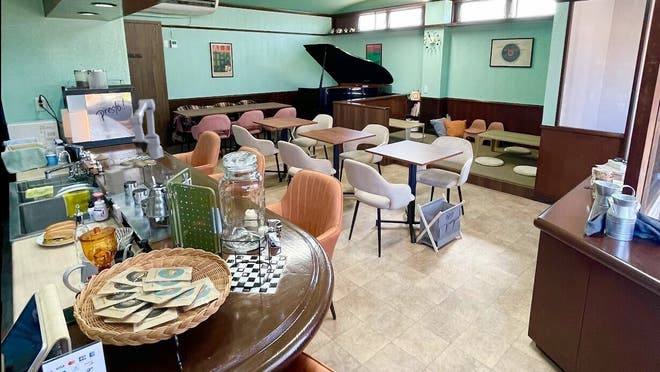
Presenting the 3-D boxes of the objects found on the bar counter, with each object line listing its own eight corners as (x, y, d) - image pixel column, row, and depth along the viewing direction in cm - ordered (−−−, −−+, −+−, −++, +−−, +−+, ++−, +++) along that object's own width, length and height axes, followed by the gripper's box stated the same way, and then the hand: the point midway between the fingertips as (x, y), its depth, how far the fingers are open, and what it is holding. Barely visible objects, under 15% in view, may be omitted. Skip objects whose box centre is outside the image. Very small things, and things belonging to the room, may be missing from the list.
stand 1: (134, 160, 303) (133, 158, 303) (143, 161, 299) (143, 159, 299) (120, 164, 293) (119, 162, 293) (129, 165, 289) (129, 163, 288)
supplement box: (121, 188, 237) (116, 168, 233) (128, 190, 233) (123, 169, 229) (108, 192, 231) (103, 171, 227) (115, 194, 227) (110, 173, 223)
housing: (144, 151, 291) (143, 145, 290) (148, 152, 289) (147, 145, 288) (136, 154, 285) (135, 147, 284) (140, 154, 283) (139, 148, 282)
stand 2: (147, 162, 297) (146, 160, 297) (156, 163, 293) (156, 160, 293) (133, 166, 287) (132, 164, 287) (143, 167, 283) (142, 165, 282)
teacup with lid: (96, 173, 275) (92, 156, 271) (97, 170, 282) (93, 153, 279) (116, 170, 279) (112, 153, 276) (116, 167, 287) (112, 151, 284)
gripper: (126, 133, 283) (130, 152, 287) (141, 134, 276) (145, 153, 281) (135, 132, 289) (139, 150, 293) (149, 132, 282) (153, 151, 287)
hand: (142, 152), depth 287 cm, fingers closed on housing, 4 cm apart
